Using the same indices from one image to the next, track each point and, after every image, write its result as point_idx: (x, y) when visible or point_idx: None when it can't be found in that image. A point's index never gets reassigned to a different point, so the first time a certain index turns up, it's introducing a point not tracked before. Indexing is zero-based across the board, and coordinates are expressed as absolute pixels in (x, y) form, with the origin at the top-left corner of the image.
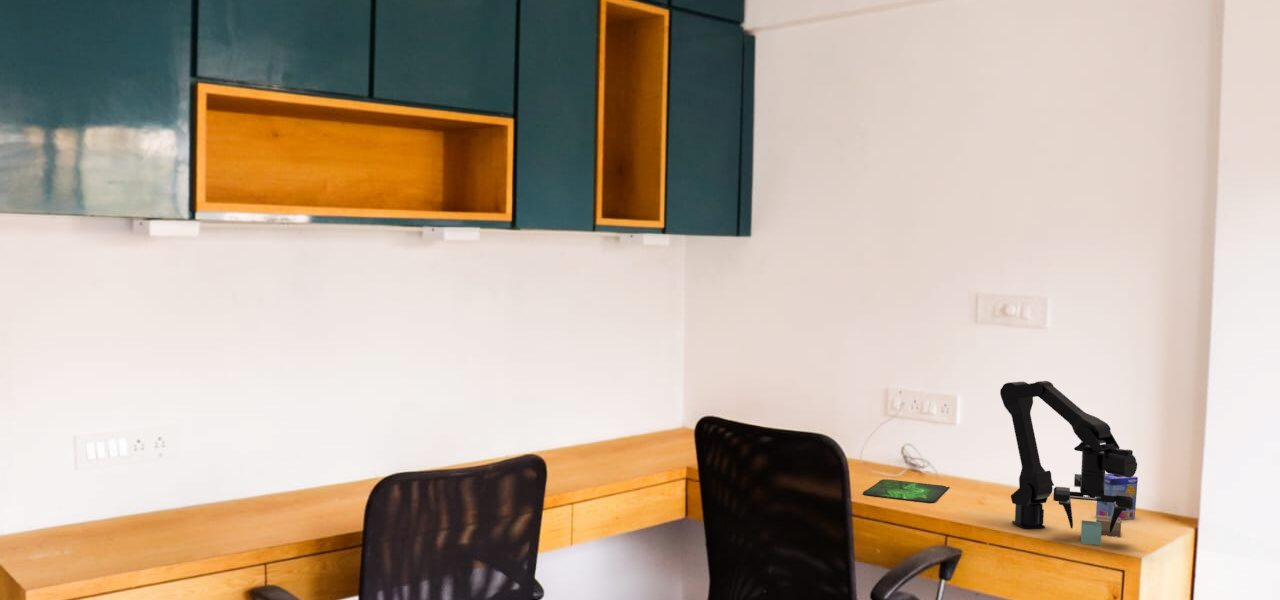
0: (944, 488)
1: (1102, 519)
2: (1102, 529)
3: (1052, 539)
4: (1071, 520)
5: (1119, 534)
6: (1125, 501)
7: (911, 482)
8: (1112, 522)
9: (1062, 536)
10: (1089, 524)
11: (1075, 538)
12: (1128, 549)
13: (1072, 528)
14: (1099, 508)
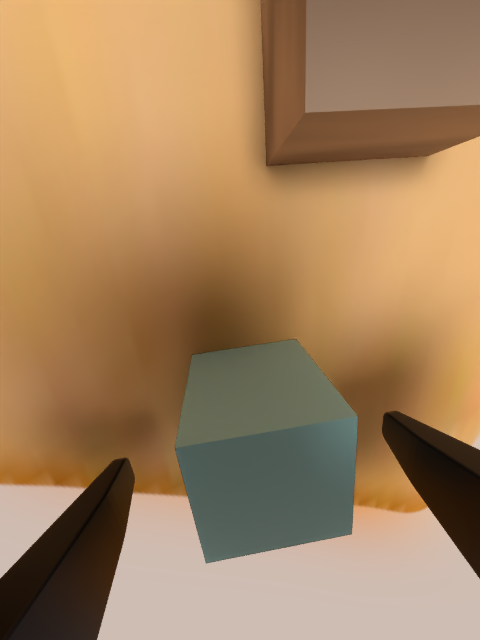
0: None
1: (385, 5)
2: (329, 149)
3: (58, 448)
4: (103, 583)
5: (437, 148)
6: None
7: None
8: (467, 541)
9: (81, 358)
10: (261, 538)
11: (162, 361)
12: (417, 419)
13: (134, 478)
14: None
